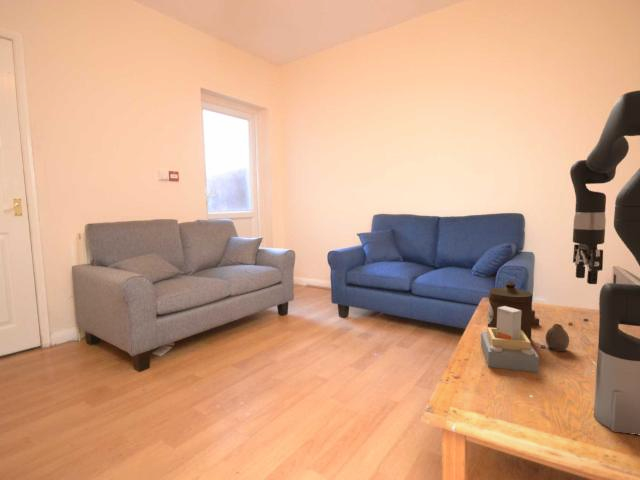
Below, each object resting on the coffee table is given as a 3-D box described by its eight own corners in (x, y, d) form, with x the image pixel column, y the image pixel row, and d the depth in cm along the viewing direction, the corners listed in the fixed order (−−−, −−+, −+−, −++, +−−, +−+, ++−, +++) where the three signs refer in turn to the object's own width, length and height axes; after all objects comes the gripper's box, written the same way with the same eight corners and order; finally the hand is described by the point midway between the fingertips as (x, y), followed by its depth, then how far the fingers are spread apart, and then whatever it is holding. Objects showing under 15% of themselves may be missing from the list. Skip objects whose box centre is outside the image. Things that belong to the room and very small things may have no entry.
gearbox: (538, 372, 106) (539, 347, 105) (488, 366, 110) (488, 342, 109) (523, 348, 123) (524, 327, 122) (480, 344, 127) (481, 323, 126)
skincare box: (495, 341, 117) (496, 307, 116) (503, 339, 119) (505, 305, 118) (512, 348, 112) (513, 312, 110) (520, 345, 113) (522, 310, 112)
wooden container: (495, 327, 143) (497, 276, 141) (536, 337, 133) (538, 281, 130) (481, 337, 133) (482, 282, 131) (523, 348, 123) (526, 288, 120)
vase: (572, 353, 118) (574, 329, 117) (550, 352, 119) (551, 328, 118) (562, 345, 125) (564, 322, 124) (541, 344, 126) (542, 321, 125)
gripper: (616, 229, 95) (612, 286, 96) (593, 225, 108) (590, 276, 110) (583, 229, 97) (580, 285, 99) (565, 225, 110) (562, 275, 112)
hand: (585, 280), depth 104 cm, fingers open, 8 cm apart
